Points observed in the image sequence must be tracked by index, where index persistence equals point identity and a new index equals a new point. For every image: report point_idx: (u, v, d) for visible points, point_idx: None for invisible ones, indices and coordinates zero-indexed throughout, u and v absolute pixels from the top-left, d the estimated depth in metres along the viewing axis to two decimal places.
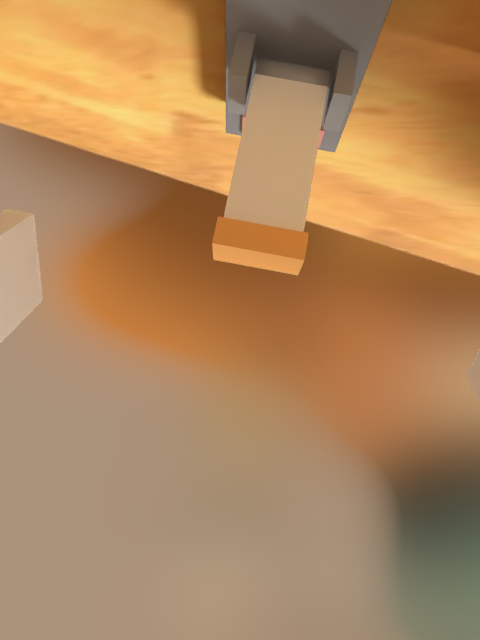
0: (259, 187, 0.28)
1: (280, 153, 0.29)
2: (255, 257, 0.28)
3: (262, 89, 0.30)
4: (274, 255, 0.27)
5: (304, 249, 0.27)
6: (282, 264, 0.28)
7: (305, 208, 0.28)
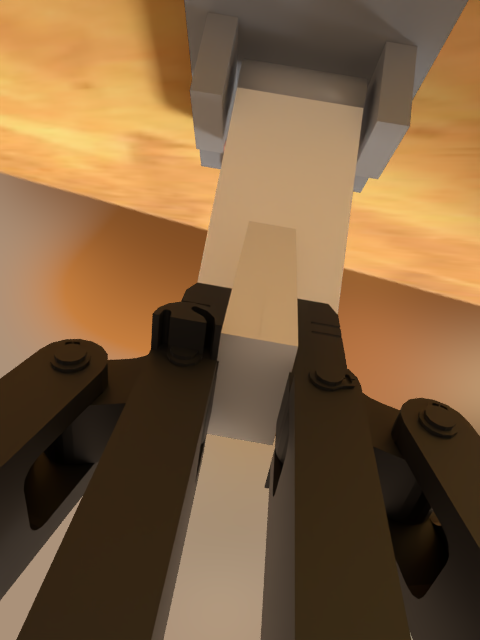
0: None
1: None
2: None
3: (250, 115, 0.17)
4: None
5: None
6: None
7: None
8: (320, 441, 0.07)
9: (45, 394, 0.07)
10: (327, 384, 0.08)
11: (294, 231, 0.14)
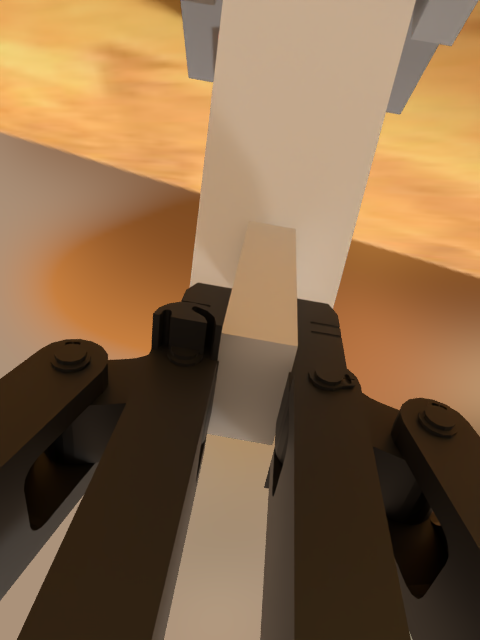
0: None
1: (292, 164, 0.14)
2: None
3: None
4: None
5: None
6: None
7: (335, 285, 0.15)
8: (320, 441, 0.07)
9: (45, 394, 0.07)
10: (327, 384, 0.08)
11: (294, 231, 0.14)
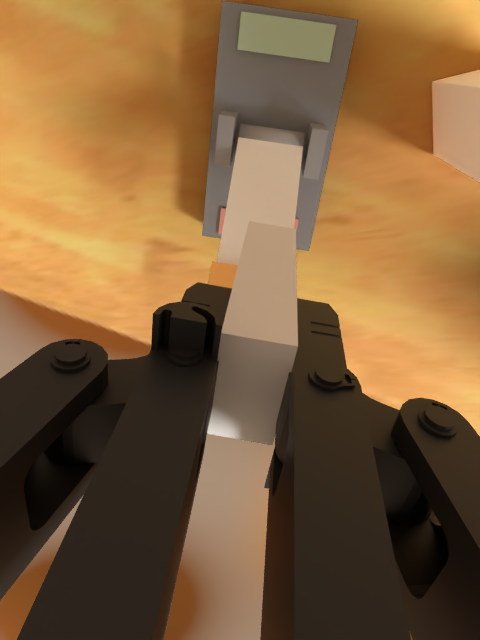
0: None
1: (264, 204, 0.33)
2: None
3: (246, 150, 0.34)
4: None
5: None
6: None
7: None
8: (320, 441, 0.07)
9: (45, 394, 0.07)
10: (327, 384, 0.08)
11: (294, 231, 0.14)
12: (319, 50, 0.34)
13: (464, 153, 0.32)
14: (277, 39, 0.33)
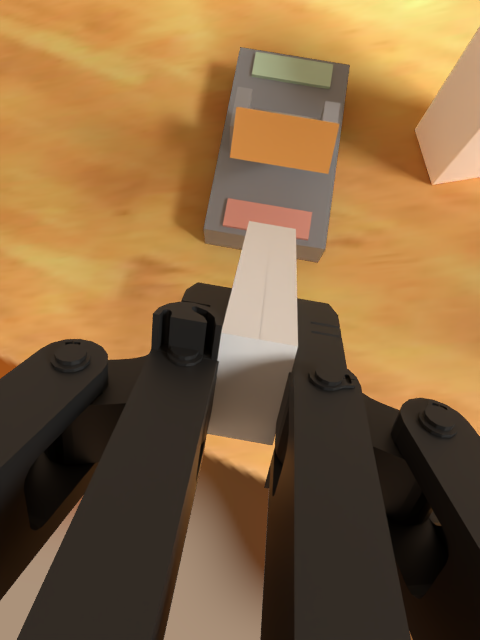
0: None
1: None
2: (282, 134, 0.25)
3: None
4: (305, 122, 0.24)
5: (336, 123, 0.25)
6: (312, 146, 0.25)
7: None
8: (320, 441, 0.07)
9: (45, 394, 0.07)
10: (327, 384, 0.08)
11: (294, 231, 0.14)
12: (321, 78, 0.40)
13: (470, 115, 0.34)
14: (285, 70, 0.40)
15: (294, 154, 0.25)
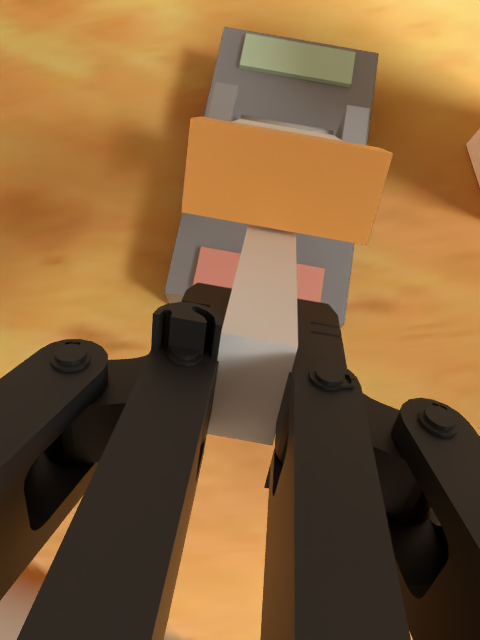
0: None
1: None
2: (280, 172, 0.13)
3: (252, 121, 0.23)
4: (326, 149, 0.12)
5: (384, 150, 0.13)
6: (338, 194, 0.13)
7: None
8: (320, 441, 0.07)
9: (45, 394, 0.07)
10: (327, 384, 0.08)
11: None
12: (338, 72, 0.28)
13: None
14: (288, 59, 0.28)
15: (303, 208, 0.13)
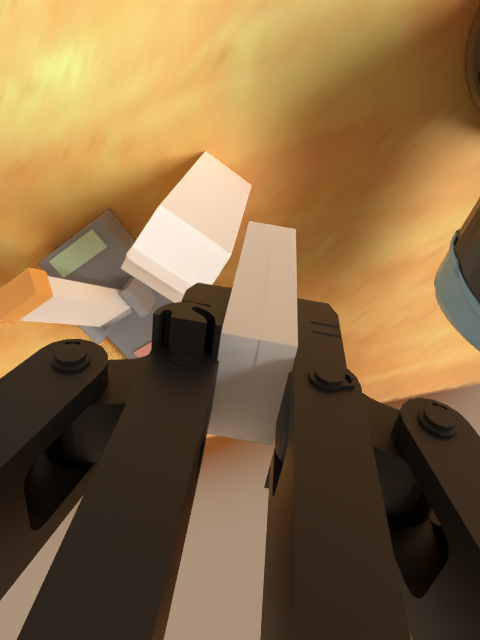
0: None
1: None
2: (10, 293, 0.40)
3: None
4: (15, 279, 0.40)
5: (34, 269, 0.40)
6: (23, 286, 0.39)
7: None
8: (320, 441, 0.07)
9: (45, 394, 0.07)
10: (327, 384, 0.08)
11: (294, 231, 0.14)
12: (96, 246, 0.49)
13: None
14: (74, 258, 0.51)
15: (18, 297, 0.39)
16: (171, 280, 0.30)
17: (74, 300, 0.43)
